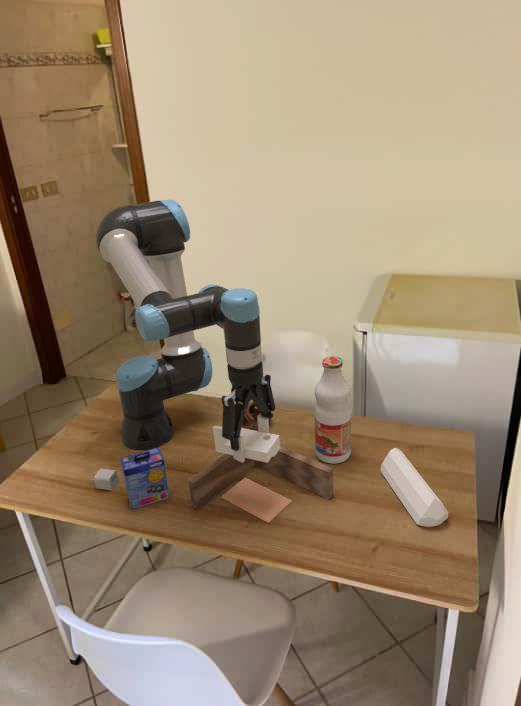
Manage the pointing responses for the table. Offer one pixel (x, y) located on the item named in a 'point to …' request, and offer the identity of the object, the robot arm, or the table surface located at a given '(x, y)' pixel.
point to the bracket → (250, 444)
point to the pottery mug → (248, 411)
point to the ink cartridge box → (145, 478)
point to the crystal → (413, 490)
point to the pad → (256, 500)
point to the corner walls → (282, 465)
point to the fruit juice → (332, 414)
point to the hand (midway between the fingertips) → (252, 449)
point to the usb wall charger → (105, 479)
